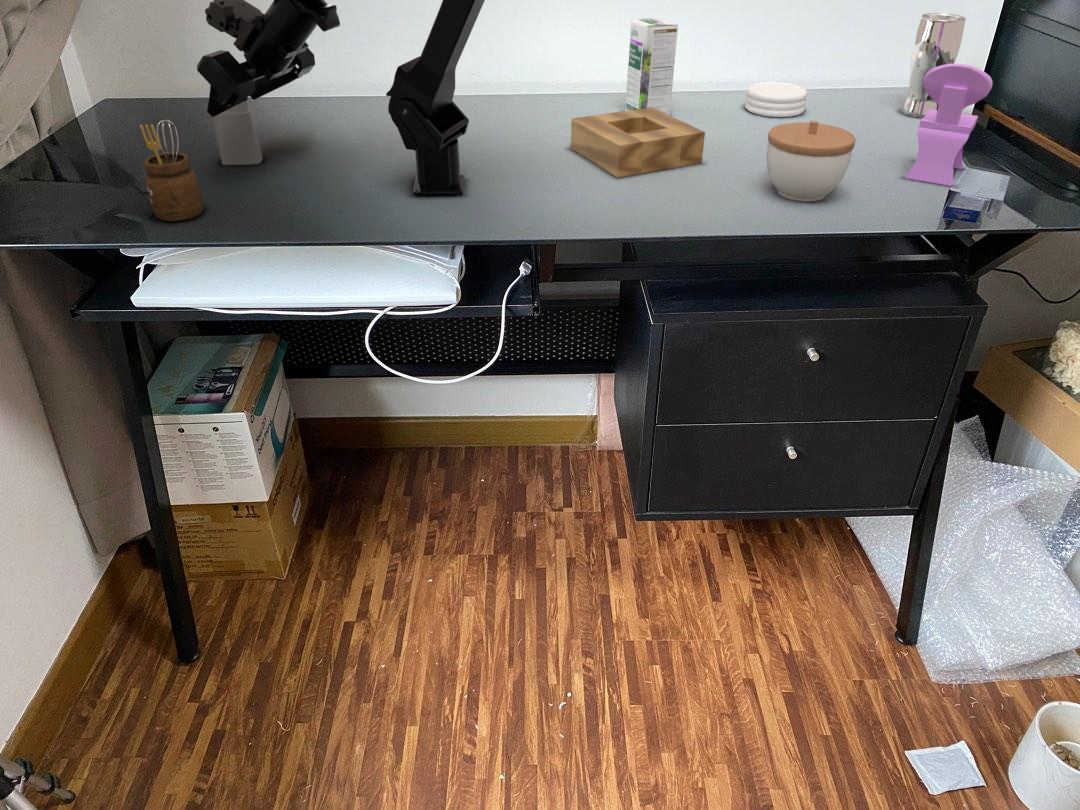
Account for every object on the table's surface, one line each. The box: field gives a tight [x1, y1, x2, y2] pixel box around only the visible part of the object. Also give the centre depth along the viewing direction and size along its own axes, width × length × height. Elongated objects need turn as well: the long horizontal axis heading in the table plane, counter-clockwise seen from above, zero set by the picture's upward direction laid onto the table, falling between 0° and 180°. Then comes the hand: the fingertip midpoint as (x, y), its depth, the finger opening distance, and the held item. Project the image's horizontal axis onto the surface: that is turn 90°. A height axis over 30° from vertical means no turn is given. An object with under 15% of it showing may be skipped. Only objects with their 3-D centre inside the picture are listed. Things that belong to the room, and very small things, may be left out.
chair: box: [904, 63, 994, 187], centre depth 115 cm, size 8×9×15 cm
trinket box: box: [766, 119, 857, 202], centre depth 110 cm, size 11×11×9 cm
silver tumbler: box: [900, 12, 967, 119], centre depth 140 cm, size 7×7×15 cm
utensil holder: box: [139, 119, 204, 223], centre depth 103 cm, size 6×6×12 cm
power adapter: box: [211, 100, 264, 166], centre depth 120 cm, size 3×5×12 cm, turn 94°
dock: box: [570, 107, 706, 179], centre depth 124 cm, size 14×14×4 cm
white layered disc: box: [744, 81, 808, 118], centre depth 144 cm, size 10×10×4 cm
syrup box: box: [624, 17, 679, 116], centre depth 139 cm, size 6×6×14 cm
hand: (231, 105), depth 119 cm, fingers open, 9 cm apart
